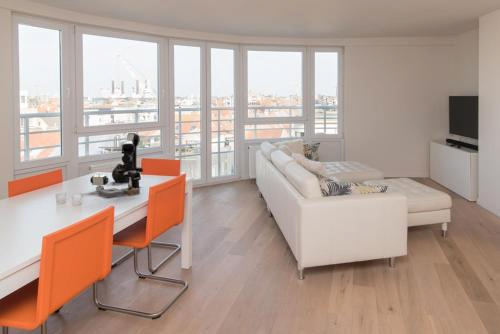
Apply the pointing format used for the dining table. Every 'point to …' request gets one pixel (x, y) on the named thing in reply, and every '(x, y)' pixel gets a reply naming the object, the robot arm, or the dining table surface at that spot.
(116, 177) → the squash
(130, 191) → the walnut mount
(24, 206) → the dining table surface
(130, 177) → the steel pin
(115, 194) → the socket plate
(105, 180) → the pneumatic valve
